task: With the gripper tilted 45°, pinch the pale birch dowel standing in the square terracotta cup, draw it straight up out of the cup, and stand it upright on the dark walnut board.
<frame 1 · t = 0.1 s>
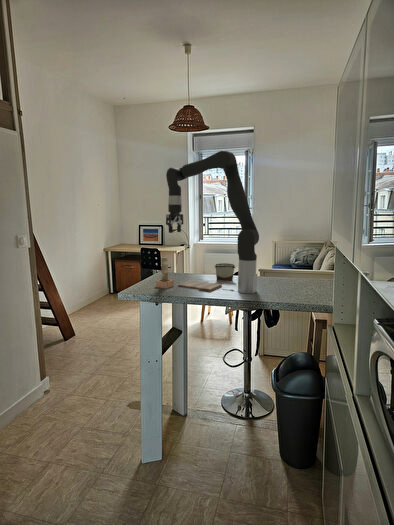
hand: (174, 232, 204), 29 cm above the worktop, tool pointing down, fingers open, 8 cm apart
terracotta cup: (164, 287, 195), on the worktop
walnut board: (199, 287, 197), on the worktop
birch dowel: (164, 286, 195), point 1 cm above the worktop, touching terracotta cup
food container: (224, 280, 215), on the worktop
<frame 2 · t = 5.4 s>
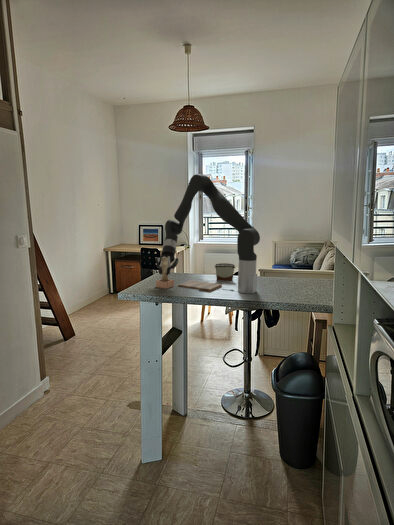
hand: (163, 273, 192), 8 cm above the worktop, tool tilted 45°, fingers closed on birch dowel, 3 cm apart
birch dowel: (164, 286, 195), point 1 cm above the worktop, touching gripper, terracotta cup
everything else where it was.
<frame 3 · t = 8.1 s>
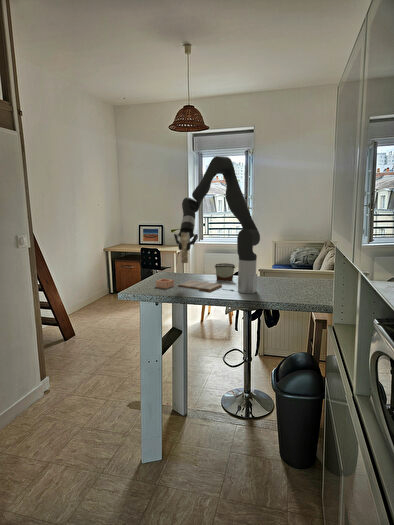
hand: (183, 249, 189), 21 cm above the worktop, tool tilted 45°, fingers closed on birch dowel, 3 cm apart
birch dowel: (184, 262, 192), point 14 cm above the worktop, touching gripper
everything else where it was.
when the fingers open (11 cm above the worktop, at t = 11.2 s): birch dowel drops 2 cm, resting on walnut board.
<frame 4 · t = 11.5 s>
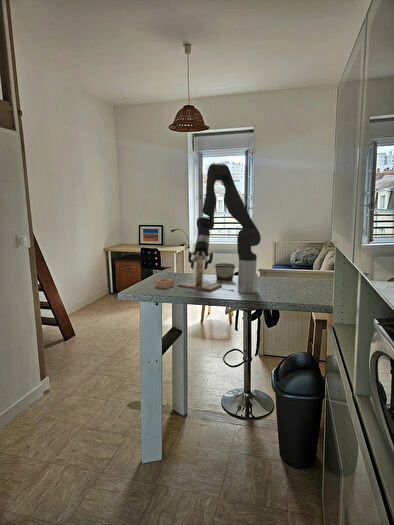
hand: (198, 268, 192), 11 cm above the worktop, tool tilted 45°, fingers open, 6 cm apart
birch dowel: (199, 284, 196), point 2 cm above the worktop, touching walnut board
everything else where it was.
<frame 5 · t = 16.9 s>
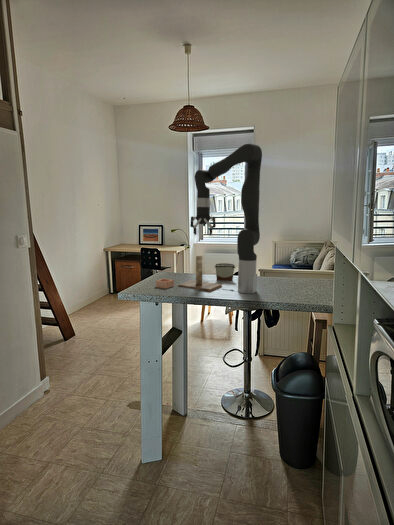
hand: (202, 234, 203), 28 cm above the worktop, tool pointing down, fingers open, 8 cm apart
nothing on the worktop moved.
at the end: birch dowel inside the target area on the walnut board (0.4 cm from its centre), point 1.5 cm above the walnut board's base; birch dowel tilted 0°; the gripper is holding nothing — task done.
